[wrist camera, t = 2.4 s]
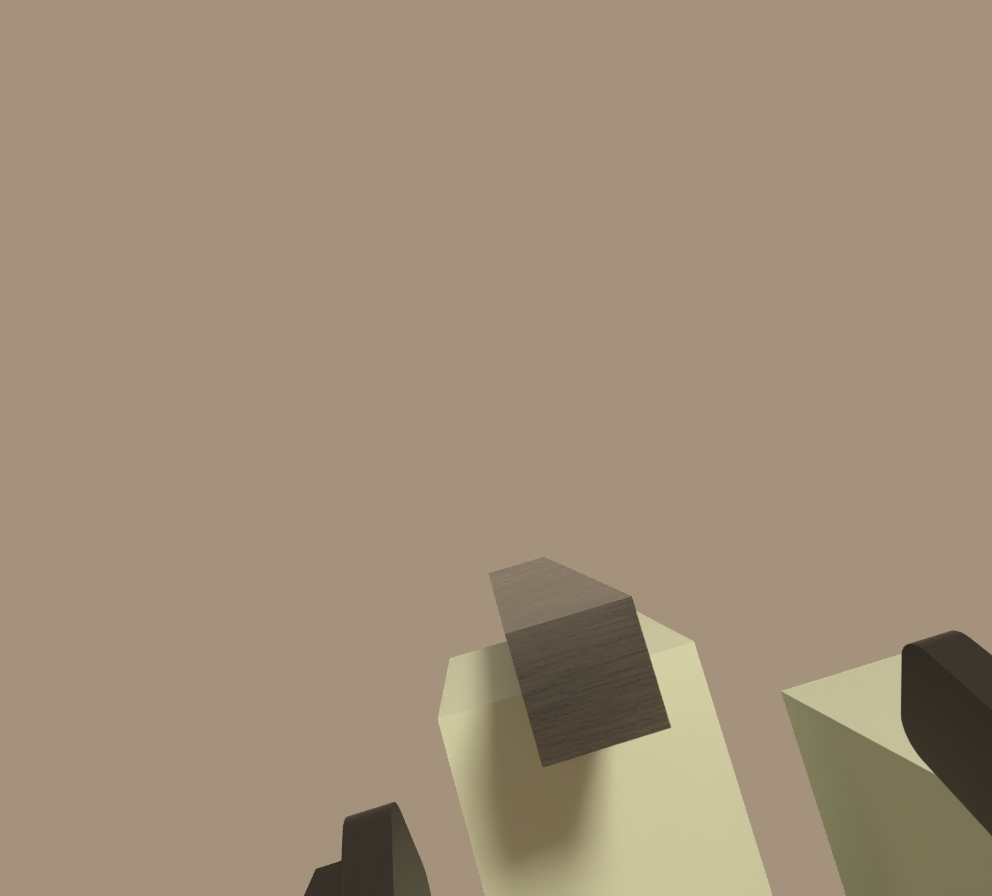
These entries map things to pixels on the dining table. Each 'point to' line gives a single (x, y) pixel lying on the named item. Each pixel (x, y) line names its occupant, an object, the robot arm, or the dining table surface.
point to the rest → (883, 791)
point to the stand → (599, 790)
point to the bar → (577, 660)
